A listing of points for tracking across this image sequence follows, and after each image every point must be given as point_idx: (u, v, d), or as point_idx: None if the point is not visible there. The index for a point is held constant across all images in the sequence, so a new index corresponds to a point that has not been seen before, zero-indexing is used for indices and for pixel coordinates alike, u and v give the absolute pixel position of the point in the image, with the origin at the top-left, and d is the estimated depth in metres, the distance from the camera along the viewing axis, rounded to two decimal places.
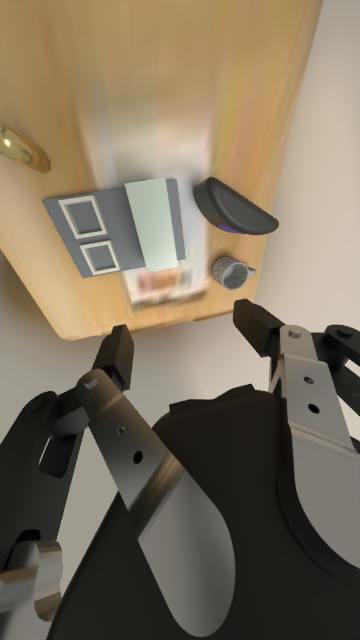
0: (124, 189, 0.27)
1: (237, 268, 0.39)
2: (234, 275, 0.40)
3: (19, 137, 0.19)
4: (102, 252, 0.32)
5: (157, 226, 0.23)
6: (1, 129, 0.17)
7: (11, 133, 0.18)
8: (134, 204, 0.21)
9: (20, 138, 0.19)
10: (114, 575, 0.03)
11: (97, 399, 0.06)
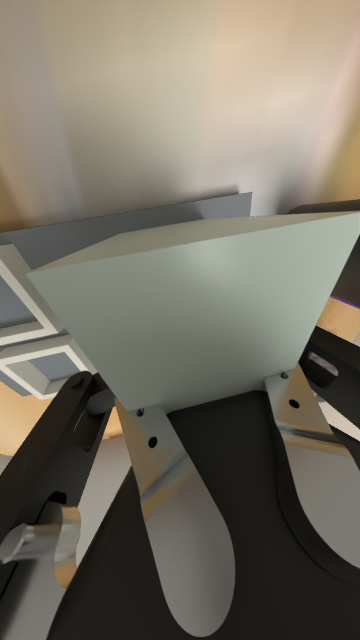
0: (101, 222, 0.09)
1: None
2: None
3: None
4: (58, 354, 0.14)
5: None
6: None
7: None
8: (124, 366, 0.03)
9: None
10: (114, 575, 0.03)
11: None
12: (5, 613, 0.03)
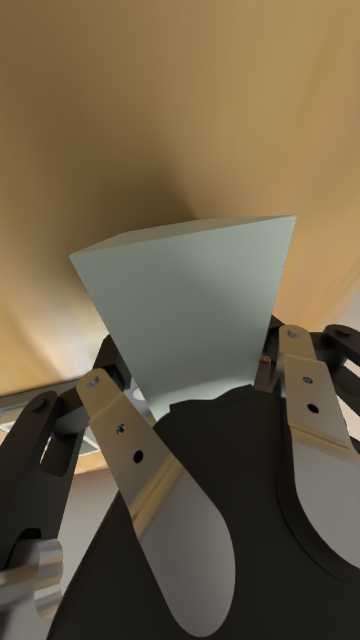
0: None
1: None
2: None
3: None
4: None
5: (211, 370, 0.07)
6: None
7: None
8: (129, 329, 0.05)
9: None
10: (114, 575, 0.03)
11: (98, 398, 0.06)
12: None
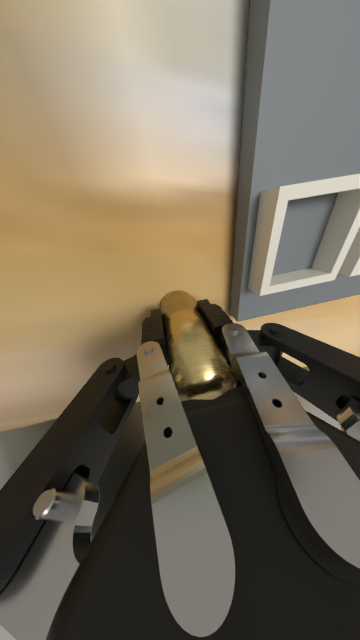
0: None
1: None
2: None
3: (181, 349, 0.07)
4: None
5: None
6: (191, 392, 0.06)
7: (194, 379, 0.06)
8: None
9: (182, 347, 0.07)
10: (114, 575, 0.03)
11: (161, 362, 0.07)
12: (32, 561, 0.03)
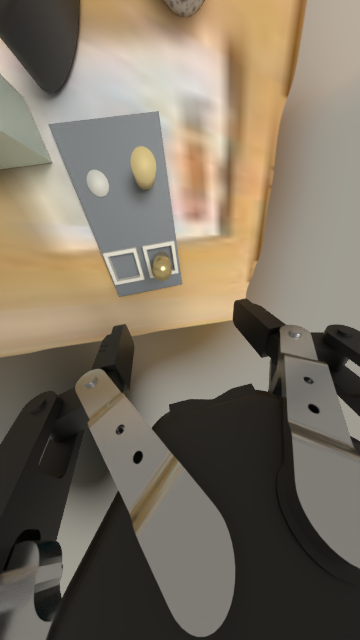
0: (88, 217, 0.24)
1: None
2: None
3: (156, 260, 0.24)
4: None
5: None
6: (157, 267, 0.23)
7: (158, 261, 0.22)
8: None
9: (157, 259, 0.24)
10: (114, 575, 0.03)
11: (97, 399, 0.06)
12: None
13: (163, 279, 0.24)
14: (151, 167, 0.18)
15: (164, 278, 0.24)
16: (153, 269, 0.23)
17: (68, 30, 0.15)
